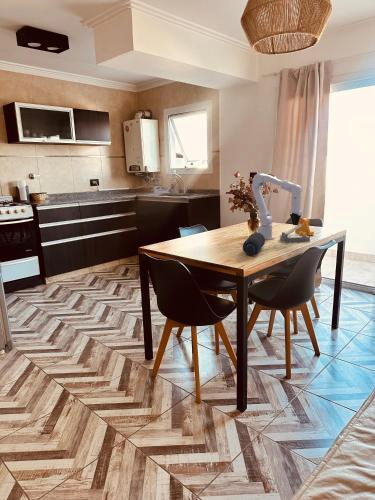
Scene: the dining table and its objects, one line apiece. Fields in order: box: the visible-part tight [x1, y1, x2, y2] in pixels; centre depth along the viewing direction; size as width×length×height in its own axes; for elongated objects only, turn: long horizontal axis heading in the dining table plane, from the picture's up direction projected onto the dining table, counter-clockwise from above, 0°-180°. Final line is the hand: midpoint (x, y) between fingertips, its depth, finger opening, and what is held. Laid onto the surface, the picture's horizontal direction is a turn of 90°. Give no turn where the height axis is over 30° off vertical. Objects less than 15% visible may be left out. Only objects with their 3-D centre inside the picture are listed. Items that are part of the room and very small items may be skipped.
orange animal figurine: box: [294, 217, 315, 237], centre depth 242 cm, size 11×7×12 cm, turn 39°
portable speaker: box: [242, 232, 266, 257], centre depth 202 cm, size 25×10×10 cm, turn 159°
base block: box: [279, 231, 311, 244], centre depth 227 cm, size 16×10×5 cm, turn 97°
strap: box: [283, 224, 303, 237], centre depth 225 cm, size 14×3×1 cm
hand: (295, 224), depth 225 cm, fingers closed
